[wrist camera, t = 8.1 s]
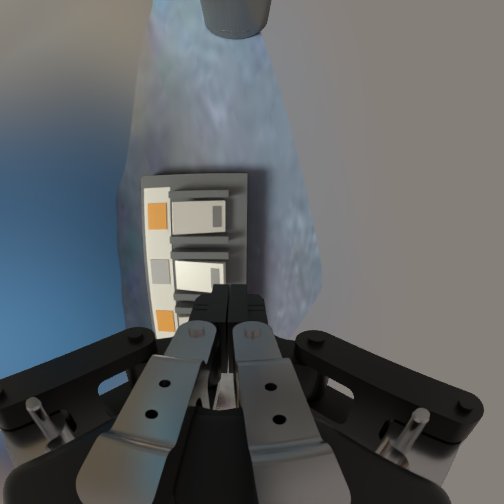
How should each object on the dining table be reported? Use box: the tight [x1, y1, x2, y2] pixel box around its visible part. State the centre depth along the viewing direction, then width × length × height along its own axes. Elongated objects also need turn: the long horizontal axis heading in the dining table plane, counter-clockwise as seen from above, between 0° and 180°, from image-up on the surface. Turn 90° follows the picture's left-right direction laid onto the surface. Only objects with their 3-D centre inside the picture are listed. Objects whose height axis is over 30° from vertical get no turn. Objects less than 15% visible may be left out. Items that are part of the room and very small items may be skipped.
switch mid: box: [175, 259, 226, 293], centre depth 32 cm, size 4×6×1 cm, turn 89°
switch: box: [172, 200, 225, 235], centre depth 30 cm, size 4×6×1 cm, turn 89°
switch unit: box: [141, 173, 247, 339], centre depth 34 cm, size 24×13×5 cm, turn 179°
